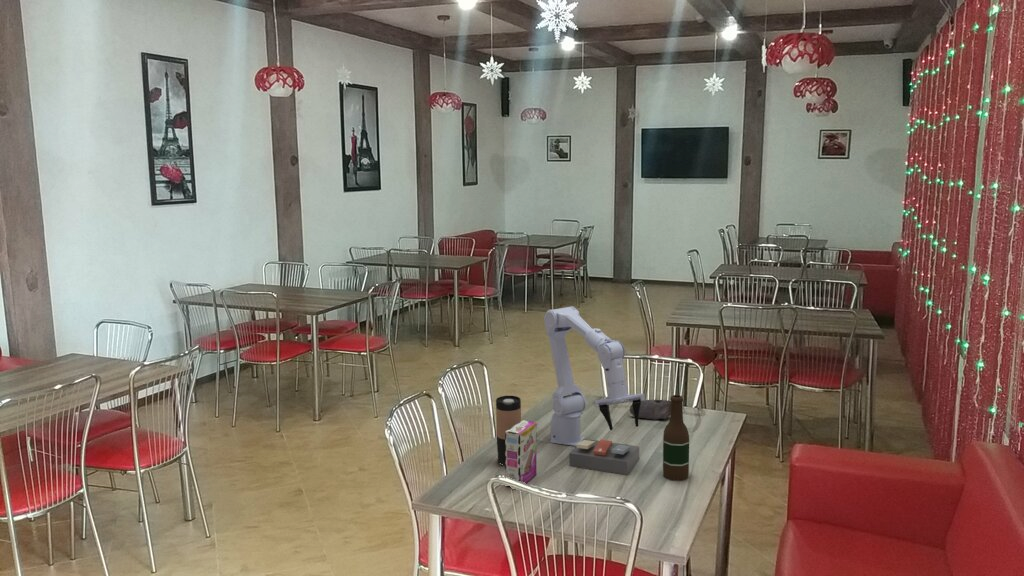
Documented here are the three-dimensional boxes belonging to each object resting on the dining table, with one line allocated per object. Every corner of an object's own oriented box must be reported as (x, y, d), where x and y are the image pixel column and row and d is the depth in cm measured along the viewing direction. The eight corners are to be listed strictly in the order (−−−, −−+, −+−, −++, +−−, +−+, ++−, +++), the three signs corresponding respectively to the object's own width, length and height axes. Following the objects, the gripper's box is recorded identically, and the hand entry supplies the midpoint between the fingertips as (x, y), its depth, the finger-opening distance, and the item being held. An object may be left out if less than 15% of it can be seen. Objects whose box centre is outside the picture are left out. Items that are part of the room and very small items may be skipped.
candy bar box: (520, 489, 213) (519, 434, 210) (505, 486, 215) (503, 431, 212) (538, 474, 222) (537, 421, 220) (522, 471, 225) (521, 419, 222)
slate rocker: (611, 452, 224) (611, 449, 224) (618, 448, 230) (618, 444, 230) (623, 454, 222) (623, 450, 222) (629, 449, 228) (630, 446, 228)
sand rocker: (576, 447, 228) (576, 443, 228) (584, 443, 235) (584, 439, 235) (587, 449, 227) (587, 445, 227) (595, 444, 233) (595, 441, 233)
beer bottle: (683, 483, 215) (685, 402, 211) (657, 477, 219) (658, 397, 215) (693, 473, 221) (694, 394, 217) (667, 468, 225) (668, 390, 221)
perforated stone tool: (628, 419, 268) (628, 400, 266) (630, 414, 273) (630, 396, 271) (671, 422, 263) (672, 403, 262) (672, 417, 268) (673, 398, 267)
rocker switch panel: (569, 465, 228) (569, 452, 228) (583, 450, 240) (583, 437, 239) (627, 475, 221) (627, 461, 220) (639, 458, 232) (639, 445, 232)
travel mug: (509, 455, 238) (508, 393, 234) (527, 461, 232) (526, 398, 229) (492, 462, 232) (490, 399, 229) (509, 468, 227) (508, 405, 224)
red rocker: (593, 453, 226) (593, 450, 226) (600, 442, 232) (600, 439, 232) (605, 455, 224) (604, 452, 224) (612, 444, 230) (612, 440, 230)
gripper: (590, 387, 222) (598, 433, 222) (640, 380, 220) (648, 426, 219) (593, 384, 229) (600, 429, 229) (641, 377, 226) (649, 422, 226)
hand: (624, 427), depth 224 cm, fingers open, 7 cm apart
